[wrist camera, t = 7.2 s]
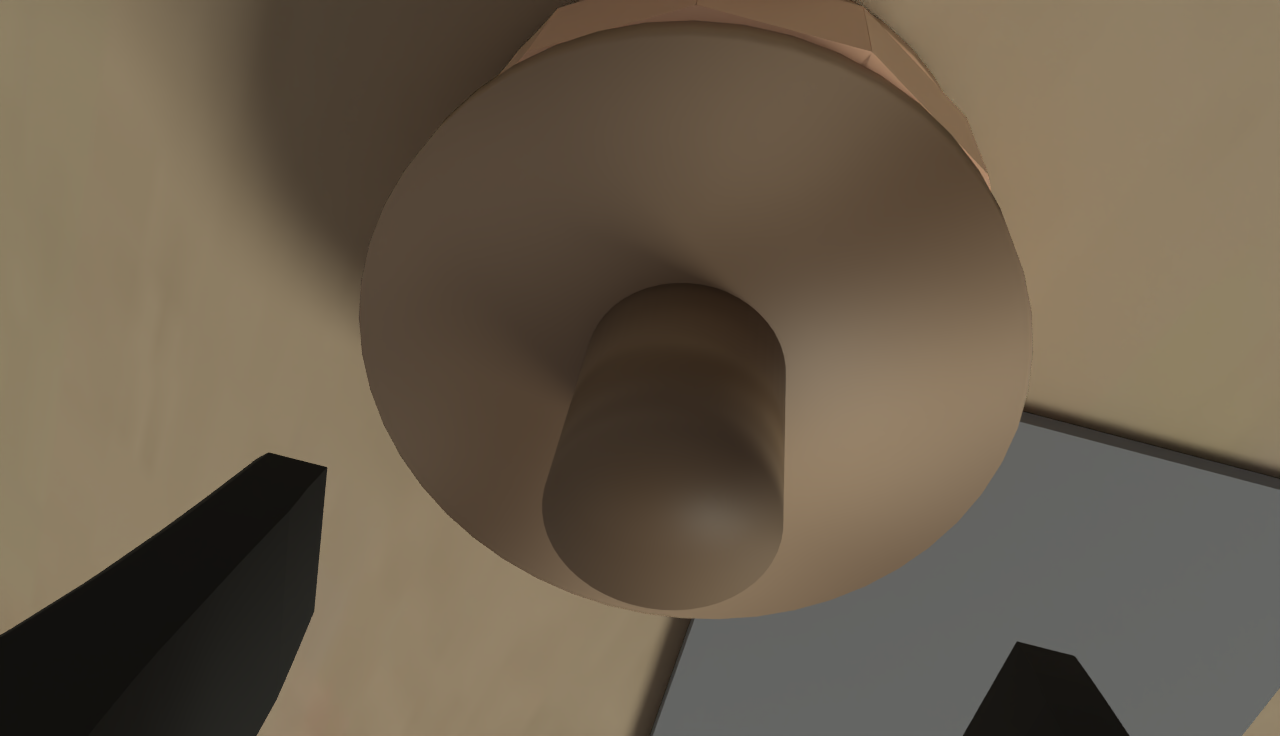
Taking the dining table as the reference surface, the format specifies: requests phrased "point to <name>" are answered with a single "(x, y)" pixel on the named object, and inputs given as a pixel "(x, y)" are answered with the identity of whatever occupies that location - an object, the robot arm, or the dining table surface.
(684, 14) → the bowl
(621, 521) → the lid
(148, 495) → the dining table surface
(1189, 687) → the mat
